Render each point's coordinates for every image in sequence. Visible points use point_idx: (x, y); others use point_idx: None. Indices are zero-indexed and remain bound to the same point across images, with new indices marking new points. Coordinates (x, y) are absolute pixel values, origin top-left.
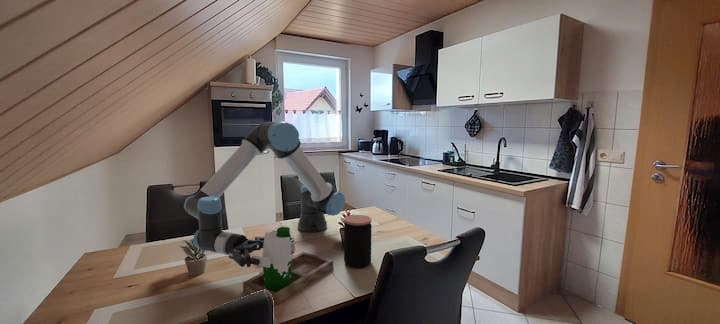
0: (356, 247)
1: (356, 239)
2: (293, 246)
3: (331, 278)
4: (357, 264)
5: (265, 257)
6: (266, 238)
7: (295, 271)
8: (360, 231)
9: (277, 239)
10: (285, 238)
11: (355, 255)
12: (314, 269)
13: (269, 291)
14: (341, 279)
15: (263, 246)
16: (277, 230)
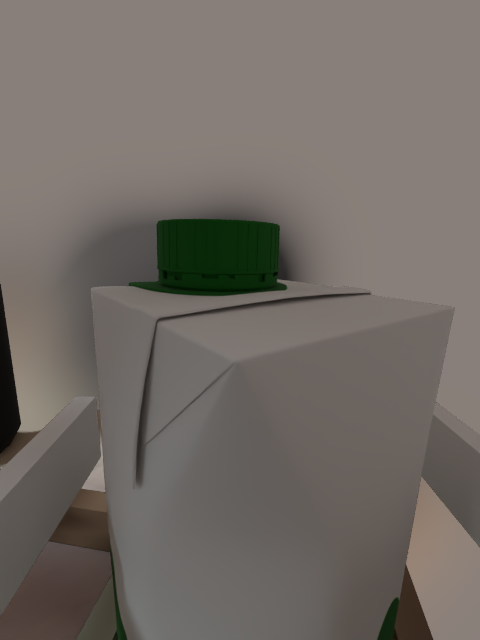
0: (7, 358)
1: (3, 325)
2: (96, 427)
3: (94, 480)
4: (18, 420)
5: (444, 423)
6: (395, 309)
7: (109, 595)
8: (1, 290)
9: (331, 286)
10: (278, 280)
11: (11, 390)
12: (79, 505)
13: (399, 599)
14: (102, 453)
15: (436, 396)
16: (272, 229)
